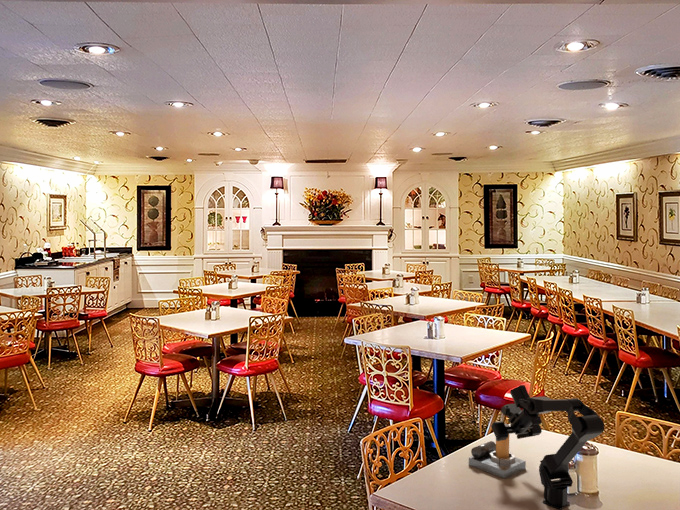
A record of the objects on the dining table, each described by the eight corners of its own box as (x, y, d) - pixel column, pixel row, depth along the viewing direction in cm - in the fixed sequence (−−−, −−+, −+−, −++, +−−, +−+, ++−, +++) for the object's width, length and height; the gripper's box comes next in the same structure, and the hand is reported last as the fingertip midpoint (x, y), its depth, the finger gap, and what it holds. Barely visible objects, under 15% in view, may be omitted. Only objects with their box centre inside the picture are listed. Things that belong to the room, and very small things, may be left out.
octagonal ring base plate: (525, 468, 219) (525, 450, 218) (504, 478, 210) (504, 459, 209) (490, 456, 231) (490, 439, 231) (468, 465, 222) (468, 447, 222)
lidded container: (509, 461, 218) (509, 428, 217) (495, 460, 219) (495, 426, 219) (509, 457, 222) (509, 423, 222) (495, 455, 224) (496, 422, 223)
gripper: (537, 396, 215) (519, 417, 226) (494, 401, 209) (477, 421, 220) (550, 424, 208) (531, 443, 218) (506, 429, 202) (488, 449, 213)
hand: (507, 438), depth 218 cm, fingers open, 9 cm apart
